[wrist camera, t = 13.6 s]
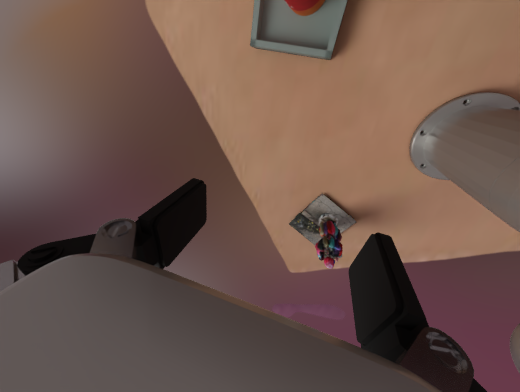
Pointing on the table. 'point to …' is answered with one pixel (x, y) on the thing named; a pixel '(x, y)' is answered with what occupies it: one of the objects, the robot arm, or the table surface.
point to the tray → (296, 28)
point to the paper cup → (304, 6)
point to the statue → (323, 228)
